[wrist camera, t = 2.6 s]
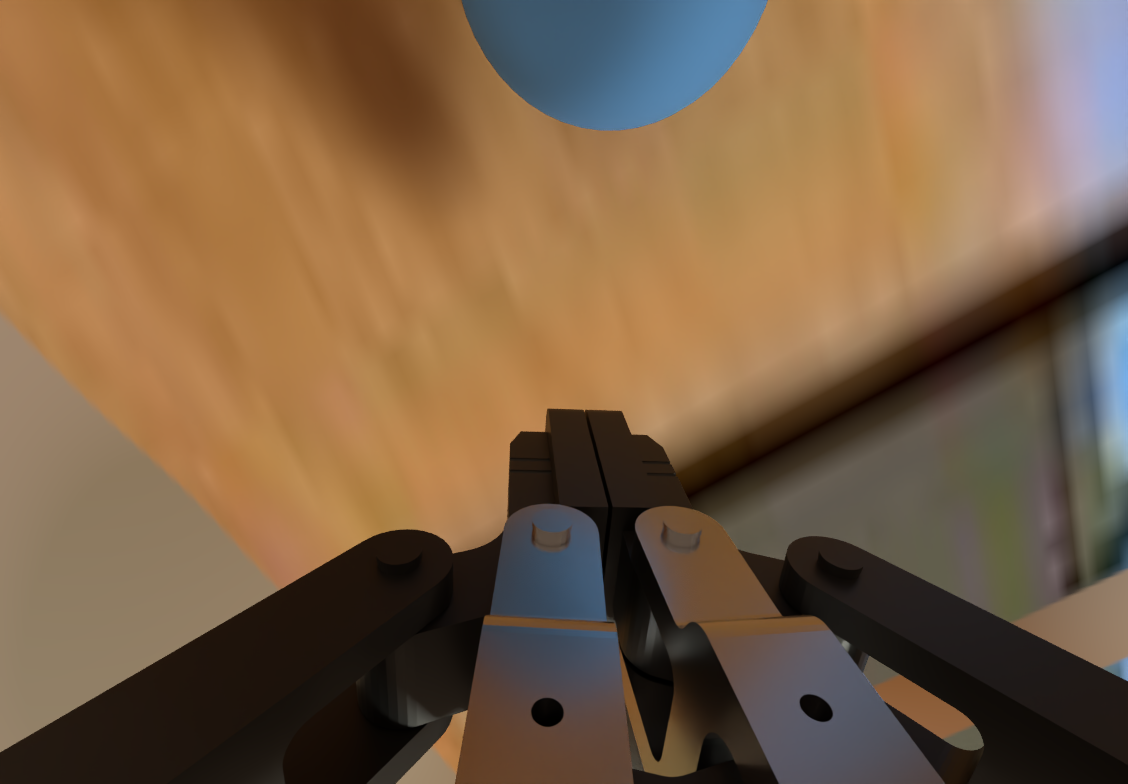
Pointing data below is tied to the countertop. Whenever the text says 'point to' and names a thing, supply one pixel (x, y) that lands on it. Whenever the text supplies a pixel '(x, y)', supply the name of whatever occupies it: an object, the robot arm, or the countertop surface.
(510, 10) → the ball
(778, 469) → the countertop surface
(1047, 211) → the countertop surface
